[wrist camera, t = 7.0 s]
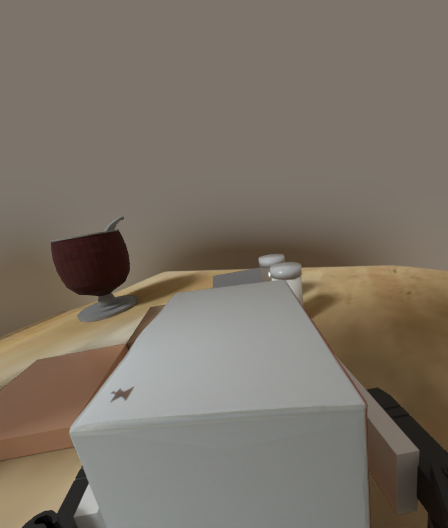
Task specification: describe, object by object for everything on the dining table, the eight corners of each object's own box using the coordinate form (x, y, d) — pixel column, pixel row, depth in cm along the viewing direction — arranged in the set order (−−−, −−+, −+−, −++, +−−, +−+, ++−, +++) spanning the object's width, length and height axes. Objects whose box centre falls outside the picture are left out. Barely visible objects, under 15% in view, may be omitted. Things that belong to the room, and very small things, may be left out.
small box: (384, 756, 7) (380, 409, 4) (183, 740, 7) (51, 433, 5) (306, 463, 15) (286, 275, 12) (212, 467, 15) (170, 291, 12)
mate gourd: (83, 330, 41) (47, 223, 37) (67, 315, 51) (36, 229, 47) (157, 298, 52) (135, 212, 47) (132, 291, 62) (112, 218, 57)
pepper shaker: (267, 308, 37) (261, 261, 36) (262, 299, 41) (256, 256, 40) (292, 304, 37) (287, 257, 36) (284, 295, 42) (279, 252, 40)
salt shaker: (280, 329, 30) (274, 272, 29) (272, 315, 35) (266, 265, 33) (310, 324, 31) (306, 267, 29) (298, 311, 35) (294, 260, 33)
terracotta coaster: (-66, 473, 18) (-77, 454, 18) (42, 372, 30) (37, 359, 30) (78, 445, 19) (71, 426, 18) (130, 356, 30) (126, 343, 30)
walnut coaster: (130, 356, 30) (126, 343, 30) (152, 317, 42) (150, 307, 42) (216, 340, 30) (214, 327, 30) (215, 305, 42) (213, 296, 42)
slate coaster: (215, 301, 44) (213, 292, 44) (214, 283, 56) (213, 275, 55) (274, 291, 44) (273, 281, 44) (261, 275, 56) (260, 267, 56)
